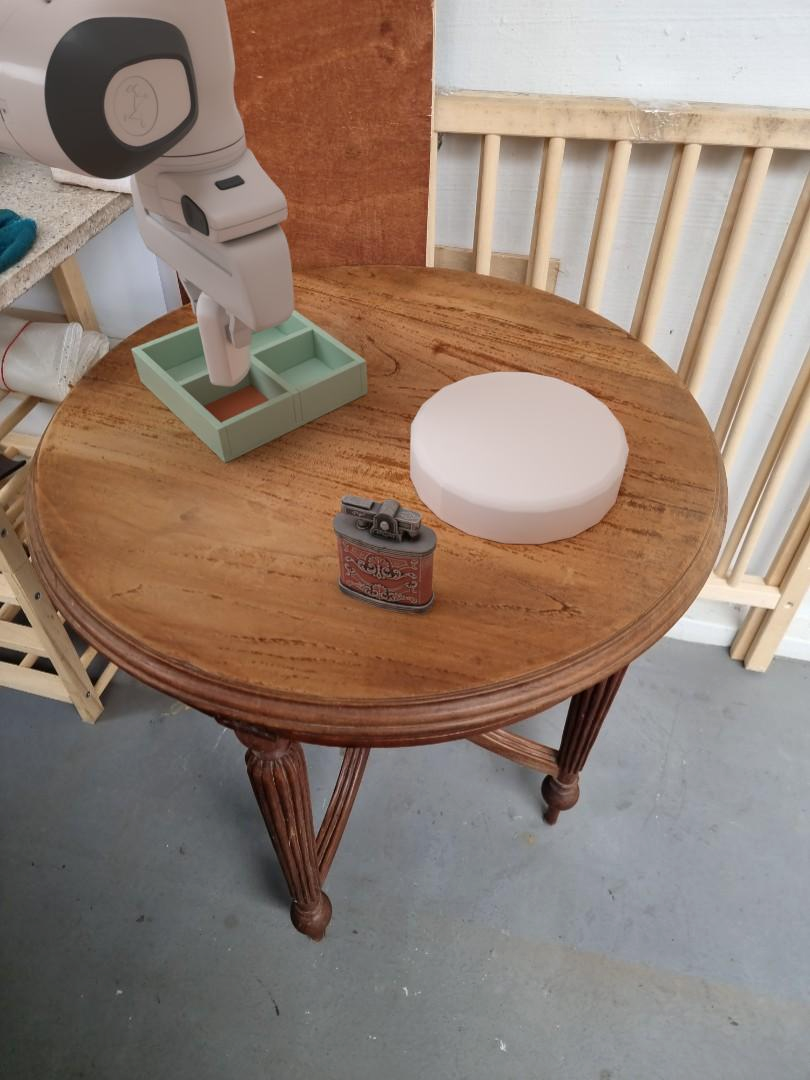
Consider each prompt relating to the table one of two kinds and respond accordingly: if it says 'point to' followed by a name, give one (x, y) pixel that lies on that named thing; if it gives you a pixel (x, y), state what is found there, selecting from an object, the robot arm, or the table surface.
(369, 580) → the lighter
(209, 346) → the eye dropper bottle
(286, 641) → the table surface
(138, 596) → the table surface
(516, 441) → the container
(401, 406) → the table surface
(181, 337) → the grid
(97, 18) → the robot arm
